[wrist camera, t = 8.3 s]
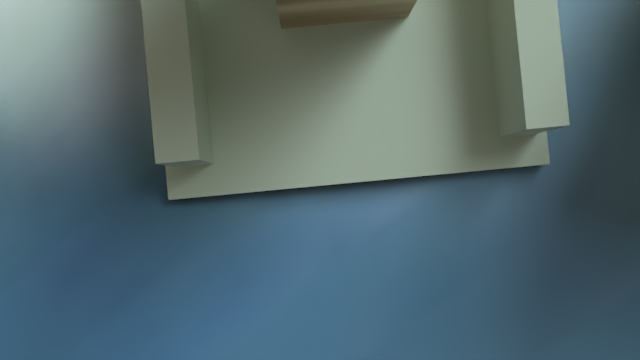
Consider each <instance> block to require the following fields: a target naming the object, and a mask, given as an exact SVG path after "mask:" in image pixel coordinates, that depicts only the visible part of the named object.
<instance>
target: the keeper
mask: <svg viewBox="0 0 640 360" xmlns="http://www.w3.org/2000/svg"><path fill="white" fill-rule="evenodd" d="M141 10H142V21H143V33H144V44H145V55H146V66H147V77H148V88H149V99H150V110H151V122H152V133H153V144H154V155H155V164H159V165H165V169H166V180H167V191H168V200H175V199H186V198H196V197H207V196H218V195H228V194H239V193H249V192H260V191H271V190H281V189H292V188H303V187H313V186H324V185H335V184H345V183H356V182H367V181H377V180H388V179H399V178H409V177H420V176H430V175H441V174H452V173H462V172H473V171H484V170H494V169H505V168H516V167H526V166H537V165H547V164H550V158H549V148H548V138H547V131H549V130H553V129H557V128H561V127H565V126H569V125H570V122H569V112H568V103H567V93H566V83H565V73H564V63H563V53H562V43H561V33H560V23H559V13H558V3H557V0H417V2H416V4H415V5H414V7H413V9H412V11H411V13H410V14H409V16H408V17H402V18H392V19H381V20H370V21H360V22H349V23H338V24H328V25H317V26H306V27H296V28H285V29H281V25H280V19H279V14H278V9H277V4H276V0H141Z"/></svg>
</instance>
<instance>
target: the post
mask: <svg viewBox="0 0 640 360" xmlns="http://www.w3.org/2000/svg"><path fill="white" fill-rule="evenodd" d="M416 2H417V0H276V4H277V9H278V14H279V19H280V25H281V29H285V28H296V27H306V26H317V25H328V24H338V23H349V22H360V21H370V20H381V19H392V18H402V17H408V16H409V14H410V13H411V11H412V9H413V7H414V5H415V4H416Z"/></svg>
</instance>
